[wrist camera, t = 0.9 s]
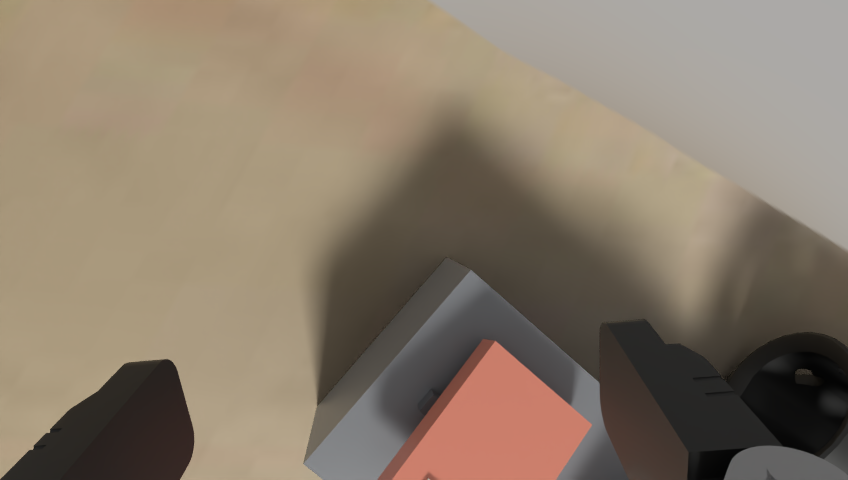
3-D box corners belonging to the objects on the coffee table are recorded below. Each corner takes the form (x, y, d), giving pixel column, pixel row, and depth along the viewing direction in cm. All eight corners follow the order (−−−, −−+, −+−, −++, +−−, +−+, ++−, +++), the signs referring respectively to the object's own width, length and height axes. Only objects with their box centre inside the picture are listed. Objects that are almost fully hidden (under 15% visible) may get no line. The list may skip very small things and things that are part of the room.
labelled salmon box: (374, 483, 25) (380, 496, 23) (483, 338, 27) (496, 341, 25) (475, 565, 26) (489, 583, 24) (574, 418, 27) (594, 425, 26)
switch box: (317, 406, 35) (301, 472, 26) (446, 257, 35) (474, 271, 26) (566, 608, 37) (630, 732, 28) (684, 466, 37) (784, 544, 28)
